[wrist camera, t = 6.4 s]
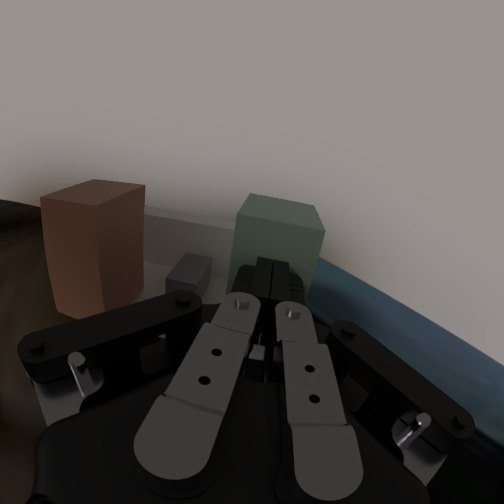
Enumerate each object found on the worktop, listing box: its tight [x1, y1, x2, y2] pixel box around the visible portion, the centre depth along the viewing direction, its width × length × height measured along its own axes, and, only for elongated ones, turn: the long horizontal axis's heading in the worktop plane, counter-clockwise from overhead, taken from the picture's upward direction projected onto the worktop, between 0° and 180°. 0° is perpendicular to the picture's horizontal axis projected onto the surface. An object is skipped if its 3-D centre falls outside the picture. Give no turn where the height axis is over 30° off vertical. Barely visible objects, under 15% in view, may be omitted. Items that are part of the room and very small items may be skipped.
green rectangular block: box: [225, 193, 325, 343], centre depth 16 cm, size 4×5×7 cm
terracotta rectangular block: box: [40, 179, 145, 319], centre depth 14 cm, size 4×5×7 cm
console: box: [131, 206, 265, 360], centre depth 19 cm, size 15×8×6 cm, turn 84°
